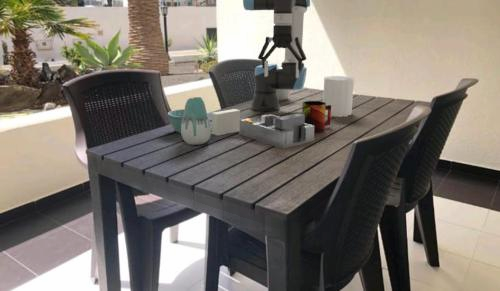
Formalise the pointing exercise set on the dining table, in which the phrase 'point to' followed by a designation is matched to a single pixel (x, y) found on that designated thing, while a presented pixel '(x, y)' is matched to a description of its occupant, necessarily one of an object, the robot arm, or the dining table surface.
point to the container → (338, 95)
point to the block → (225, 121)
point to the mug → (316, 115)
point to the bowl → (176, 119)
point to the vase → (195, 122)
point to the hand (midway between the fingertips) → (281, 77)
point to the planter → (283, 94)
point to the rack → (279, 130)
